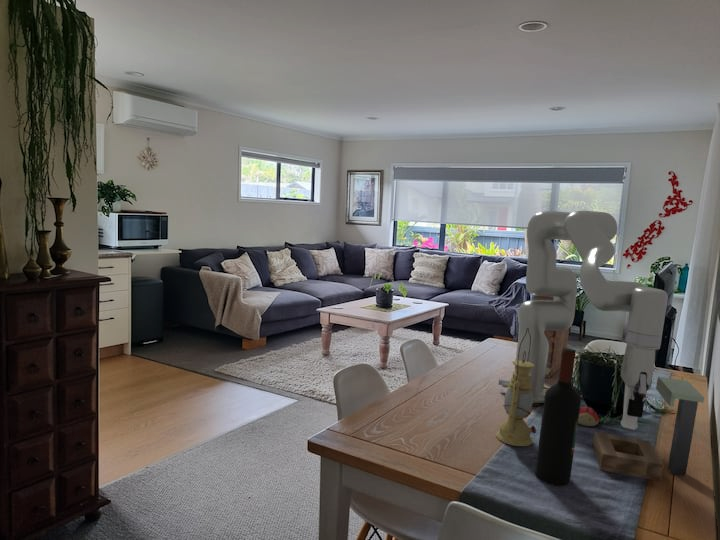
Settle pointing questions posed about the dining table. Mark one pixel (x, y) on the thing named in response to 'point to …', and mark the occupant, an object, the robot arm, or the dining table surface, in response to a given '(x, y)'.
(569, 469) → the wine bottle
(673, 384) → the capped grey post
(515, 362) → the lantern
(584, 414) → the red and yellow dome
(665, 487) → the dining table surface
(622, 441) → the socket block
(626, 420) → the perfume bottle
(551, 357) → the book
